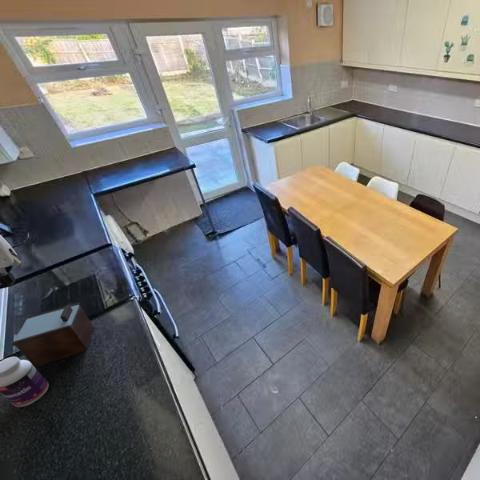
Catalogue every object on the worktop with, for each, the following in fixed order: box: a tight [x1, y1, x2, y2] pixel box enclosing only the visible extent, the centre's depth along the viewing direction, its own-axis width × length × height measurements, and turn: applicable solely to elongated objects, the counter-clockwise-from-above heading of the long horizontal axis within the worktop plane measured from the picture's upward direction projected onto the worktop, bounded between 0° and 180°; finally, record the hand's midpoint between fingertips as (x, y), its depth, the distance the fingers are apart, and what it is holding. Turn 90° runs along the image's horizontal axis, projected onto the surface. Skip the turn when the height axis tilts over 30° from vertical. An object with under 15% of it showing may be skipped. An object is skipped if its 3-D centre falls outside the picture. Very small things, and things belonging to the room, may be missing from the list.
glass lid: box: [13, 304, 79, 342], centre depth 91 cm, size 15×11×3 cm
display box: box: [11, 302, 95, 368], centre depth 95 cm, size 15×13×13 cm
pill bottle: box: [0, 356, 50, 408], centre depth 79 cm, size 8×8×14 cm
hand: (10, 284), depth 85 cm, fingers closed
